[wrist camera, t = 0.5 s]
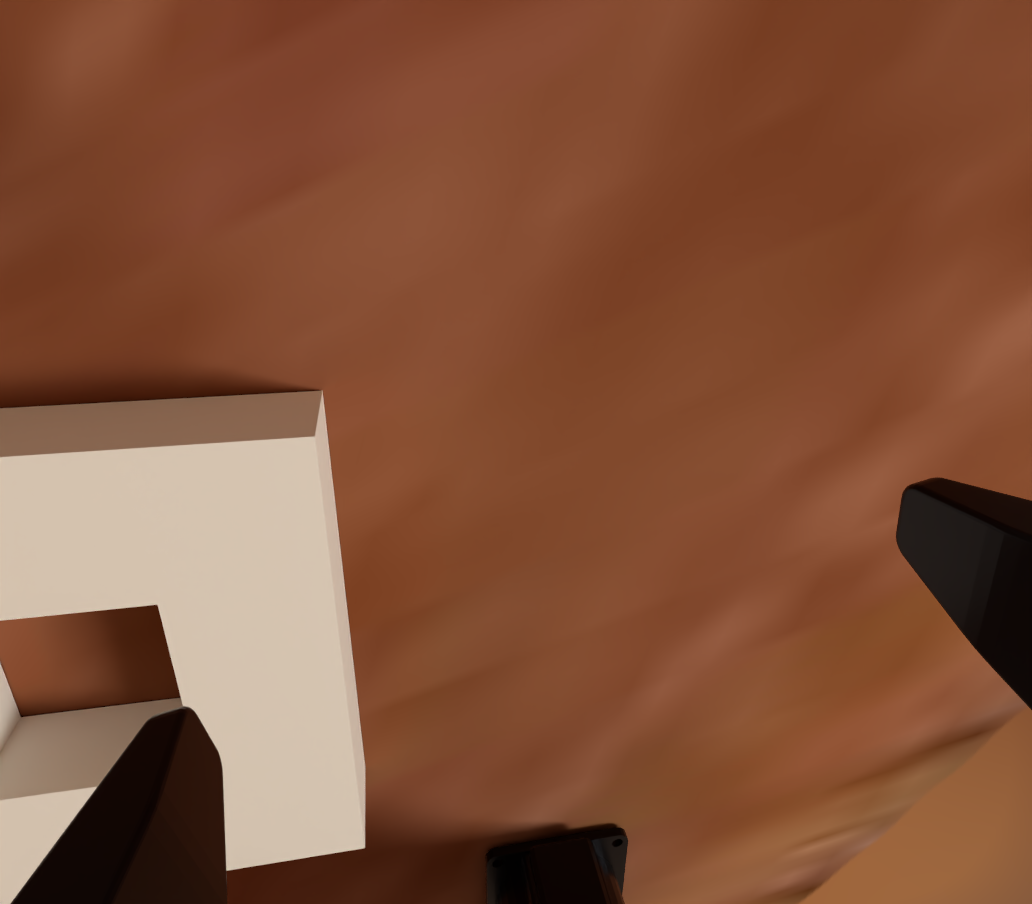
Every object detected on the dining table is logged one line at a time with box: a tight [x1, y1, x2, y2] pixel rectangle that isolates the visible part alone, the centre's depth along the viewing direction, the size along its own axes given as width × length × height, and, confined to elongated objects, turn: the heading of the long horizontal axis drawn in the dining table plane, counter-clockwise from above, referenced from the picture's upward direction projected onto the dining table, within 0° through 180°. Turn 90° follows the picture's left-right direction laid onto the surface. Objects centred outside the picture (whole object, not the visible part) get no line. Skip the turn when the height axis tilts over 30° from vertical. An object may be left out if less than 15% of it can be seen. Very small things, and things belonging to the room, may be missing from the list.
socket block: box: [0, 391, 365, 904], centre depth 22 cm, size 16×16×4 cm
